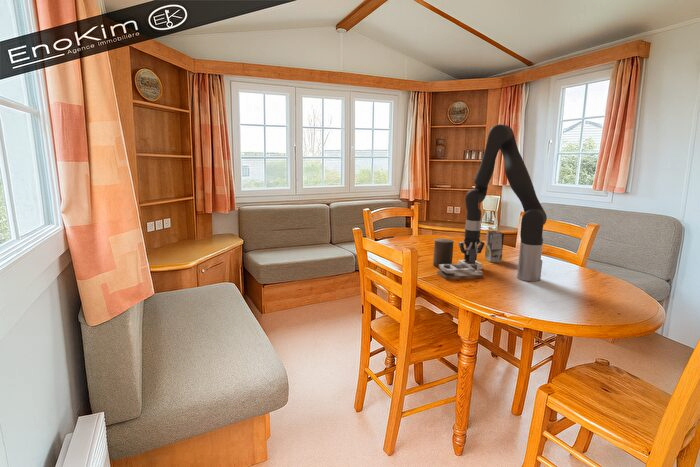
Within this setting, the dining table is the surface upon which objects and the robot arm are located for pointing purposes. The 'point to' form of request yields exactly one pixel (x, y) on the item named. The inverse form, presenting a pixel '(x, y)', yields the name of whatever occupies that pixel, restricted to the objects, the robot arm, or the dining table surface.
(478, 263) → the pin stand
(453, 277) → the grey slotted fixture
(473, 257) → the steel pin
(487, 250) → the coffee box
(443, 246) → the pillar candle
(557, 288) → the dining table surface
